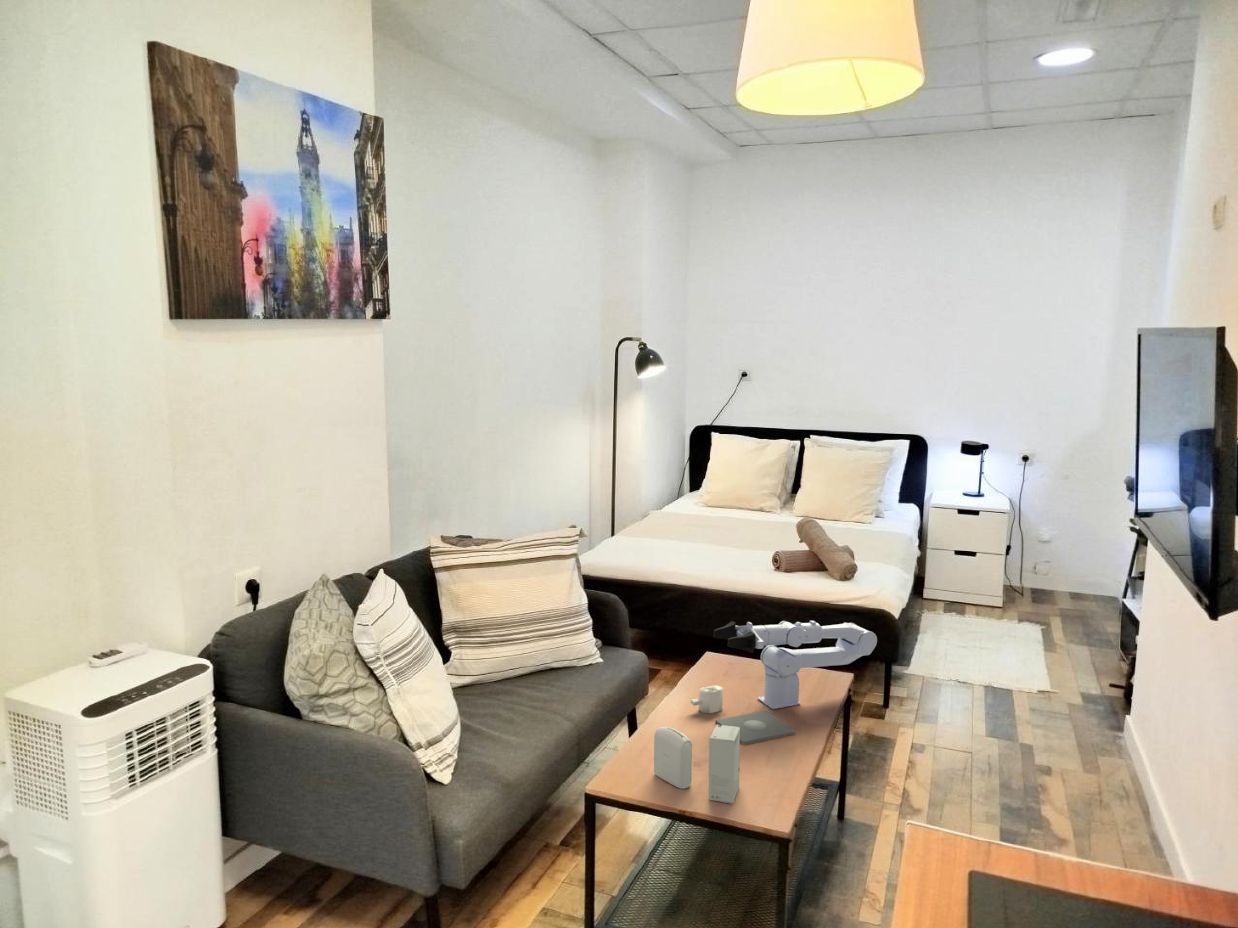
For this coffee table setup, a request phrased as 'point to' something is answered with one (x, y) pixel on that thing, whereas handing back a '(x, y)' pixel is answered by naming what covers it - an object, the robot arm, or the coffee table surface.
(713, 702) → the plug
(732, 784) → the skincare box
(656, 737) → the photo printer
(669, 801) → the coffee table surface
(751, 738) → the mat
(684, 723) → the coffee table surface
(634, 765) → the coffee table surface
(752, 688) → the coffee table surface
